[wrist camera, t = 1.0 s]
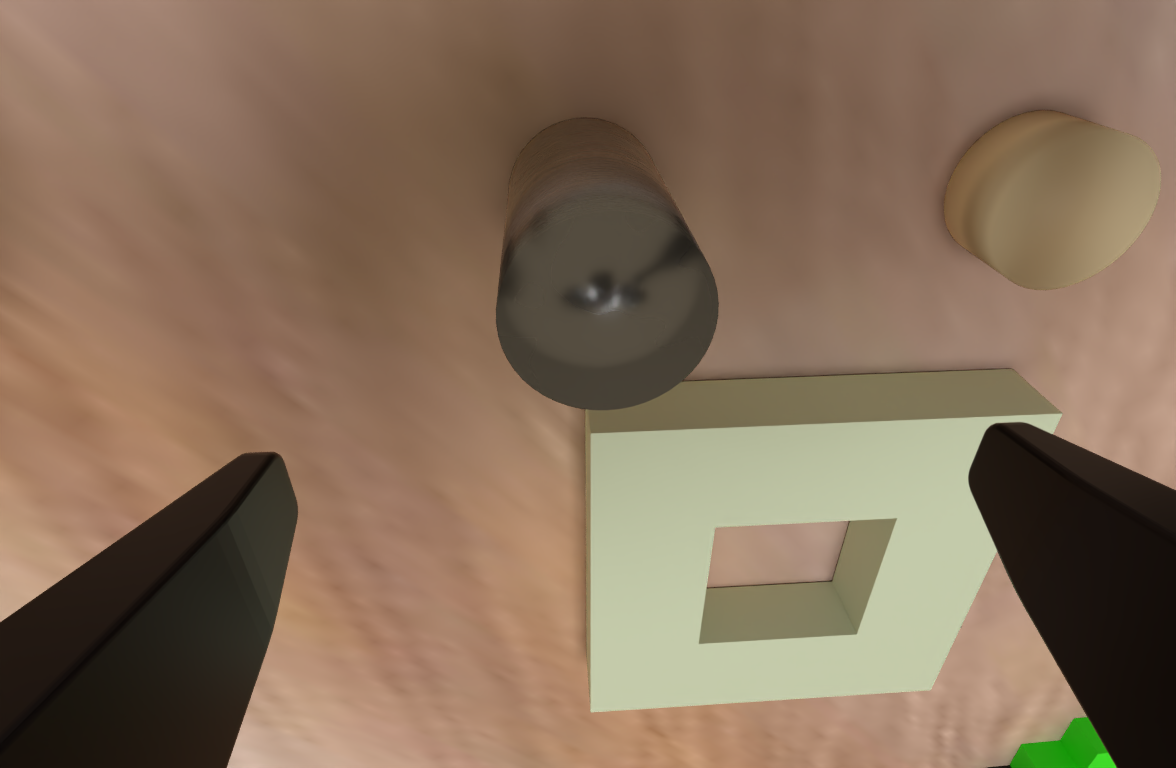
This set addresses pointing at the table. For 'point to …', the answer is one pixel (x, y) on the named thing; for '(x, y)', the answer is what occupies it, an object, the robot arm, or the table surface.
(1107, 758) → the building blocks
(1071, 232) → the short birch pin
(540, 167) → the long steel pin
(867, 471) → the hole board
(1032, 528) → the robot arm
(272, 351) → the table surface
